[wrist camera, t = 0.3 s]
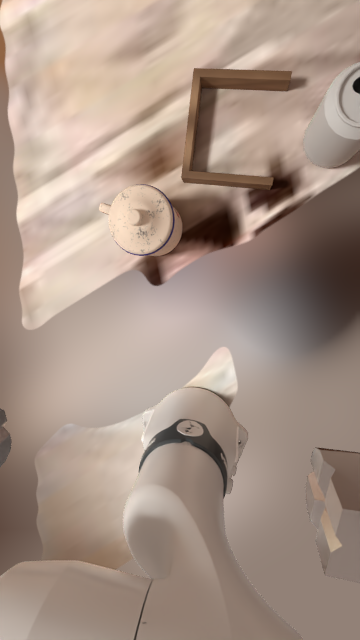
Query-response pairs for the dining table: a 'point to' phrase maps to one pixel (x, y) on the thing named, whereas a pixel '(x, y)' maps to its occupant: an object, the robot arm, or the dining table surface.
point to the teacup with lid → (143, 221)
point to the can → (336, 122)
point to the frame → (200, 80)
